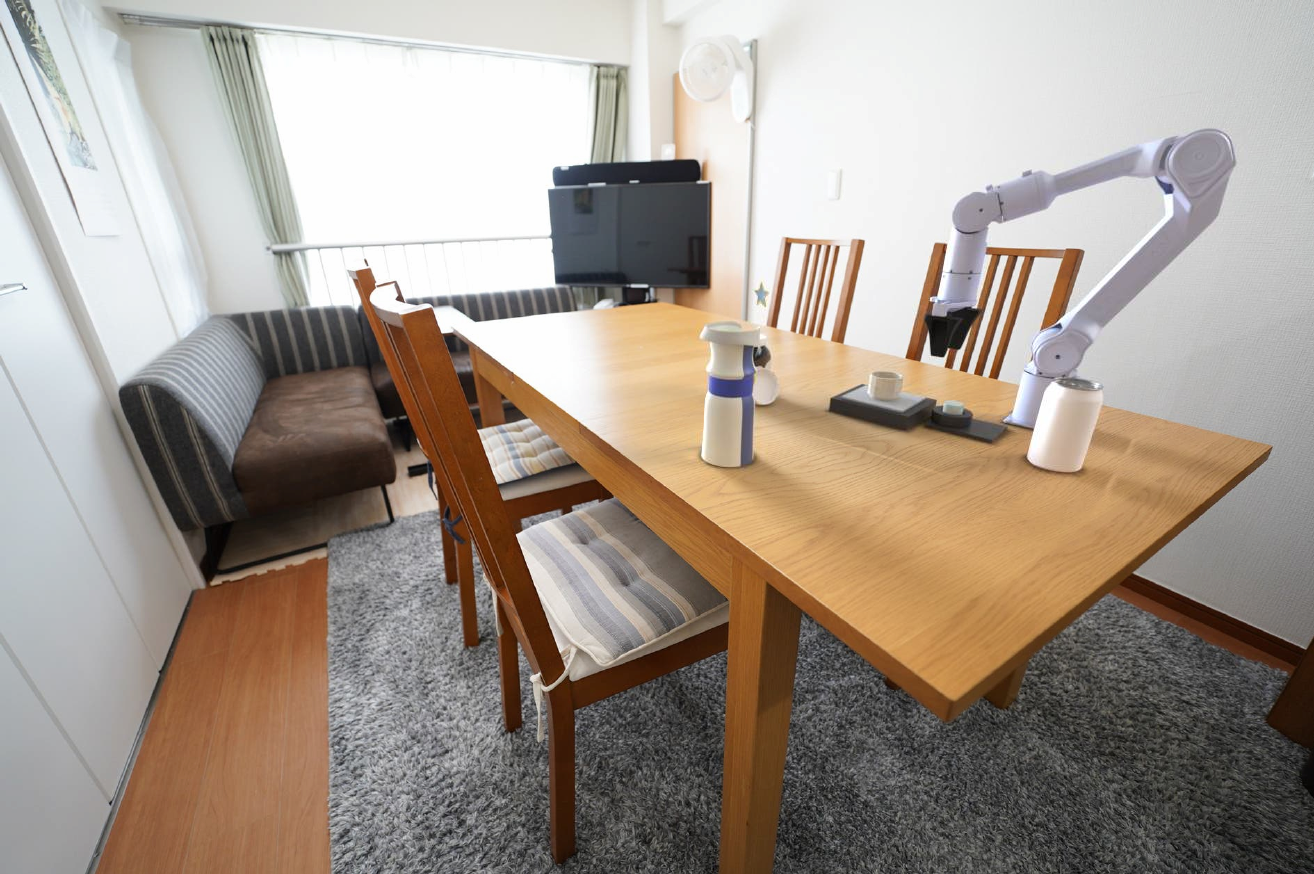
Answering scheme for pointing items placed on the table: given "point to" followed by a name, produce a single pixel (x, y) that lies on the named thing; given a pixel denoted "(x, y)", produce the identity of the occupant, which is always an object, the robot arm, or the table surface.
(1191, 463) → the table surface
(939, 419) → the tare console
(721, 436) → the water bottle
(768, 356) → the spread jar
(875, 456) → the table surface
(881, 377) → the bowl
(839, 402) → the scale
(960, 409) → the button
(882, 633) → the table surface
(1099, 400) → the can
